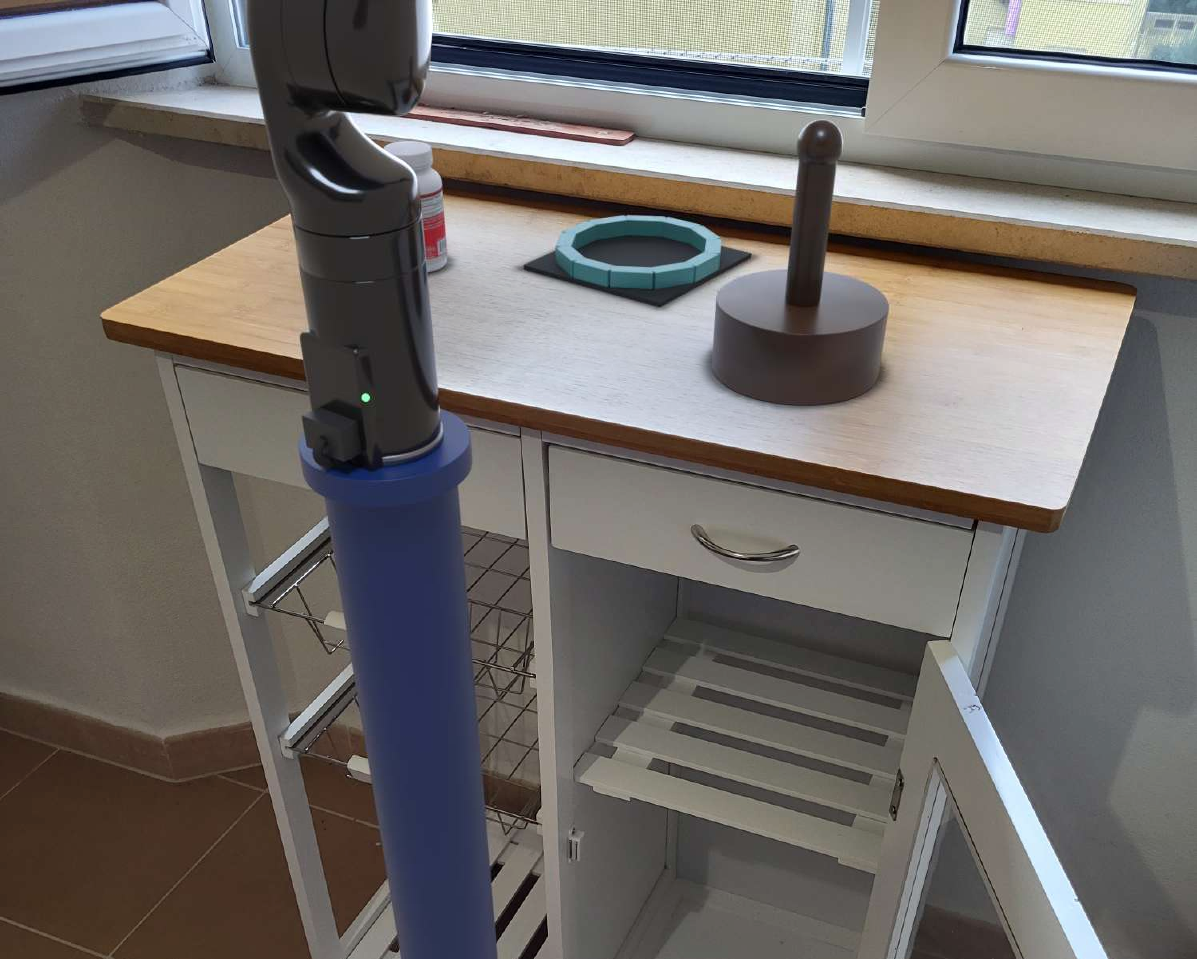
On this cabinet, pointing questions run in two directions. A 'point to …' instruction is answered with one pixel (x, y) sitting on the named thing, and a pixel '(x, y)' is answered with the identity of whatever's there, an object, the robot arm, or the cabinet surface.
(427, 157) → the pill bottle
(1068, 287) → the cabinet surface
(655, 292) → the mat
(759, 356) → the peg stand
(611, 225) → the hoop
